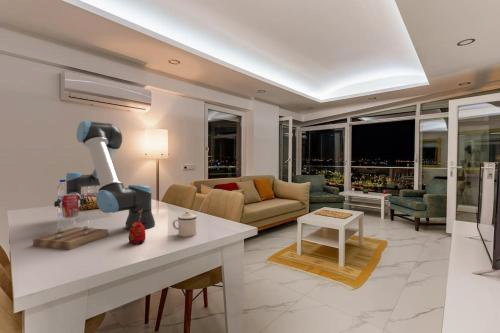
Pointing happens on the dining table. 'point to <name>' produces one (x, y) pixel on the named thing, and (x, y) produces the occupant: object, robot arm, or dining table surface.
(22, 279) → the dining table surface
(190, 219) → the teacup with lid
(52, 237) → the peg riser
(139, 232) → the red clay folk toy
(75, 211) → the soda can
